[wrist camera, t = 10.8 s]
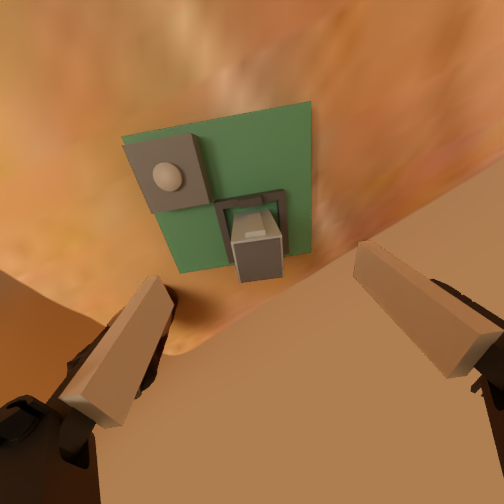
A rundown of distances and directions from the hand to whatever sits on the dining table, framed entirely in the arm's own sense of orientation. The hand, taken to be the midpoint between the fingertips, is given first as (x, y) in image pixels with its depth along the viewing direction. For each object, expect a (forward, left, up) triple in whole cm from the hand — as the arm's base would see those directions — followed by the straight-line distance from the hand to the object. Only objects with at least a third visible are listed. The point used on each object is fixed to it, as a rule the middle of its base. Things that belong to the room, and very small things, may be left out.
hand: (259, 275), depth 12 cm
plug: (+1, 0, -11) cm, 11 cm away
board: (-3, -2, -13) cm, 13 cm away
